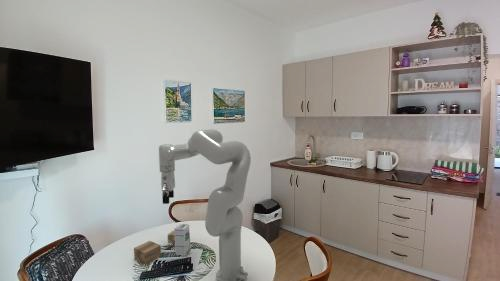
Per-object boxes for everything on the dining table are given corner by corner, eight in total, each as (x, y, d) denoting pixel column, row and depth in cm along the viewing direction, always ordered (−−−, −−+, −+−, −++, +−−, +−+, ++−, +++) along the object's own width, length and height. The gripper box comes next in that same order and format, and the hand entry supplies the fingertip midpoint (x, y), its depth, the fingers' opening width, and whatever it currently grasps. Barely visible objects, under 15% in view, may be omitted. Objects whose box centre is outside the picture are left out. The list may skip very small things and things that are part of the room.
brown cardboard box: (161, 256, 132) (160, 245, 132) (145, 265, 125) (144, 253, 124) (150, 251, 137) (149, 240, 137) (134, 259, 130) (133, 247, 129)
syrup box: (185, 256, 132) (184, 228, 131) (175, 255, 134) (174, 227, 132) (190, 250, 138) (189, 224, 137) (180, 249, 139) (179, 223, 138)
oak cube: (180, 239, 150) (180, 231, 150) (175, 244, 146) (175, 235, 145) (172, 239, 152) (172, 230, 151) (167, 243, 147) (167, 234, 146)
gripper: (170, 171, 127) (171, 206, 128) (178, 164, 144) (179, 195, 146) (154, 172, 126) (156, 206, 128) (164, 165, 143) (165, 195, 145)
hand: (168, 200), depth 137 cm, fingers open, 9 cm apart
